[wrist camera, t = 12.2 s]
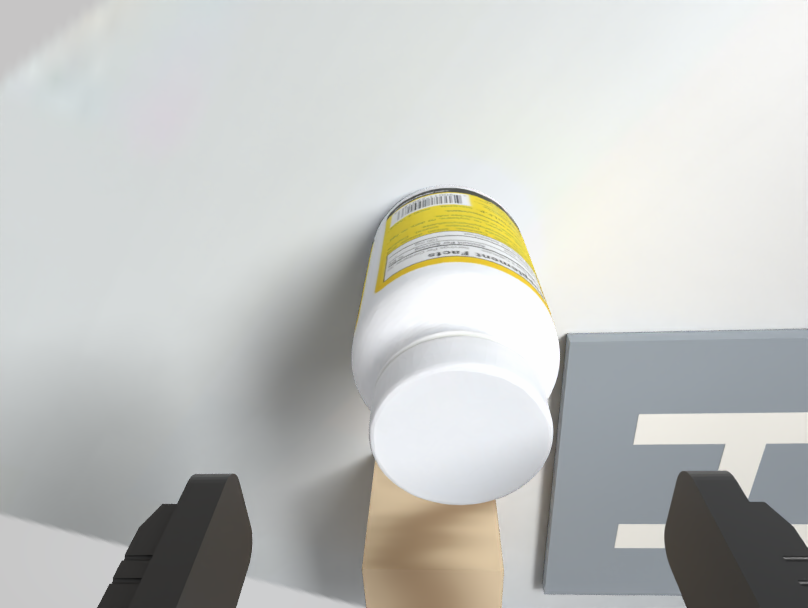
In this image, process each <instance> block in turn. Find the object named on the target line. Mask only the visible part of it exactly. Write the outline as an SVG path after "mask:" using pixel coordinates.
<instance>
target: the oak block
mask: <svg viewBox="0 0 808 608" xmlns="http://www.w3.org/2000/svg"><path fill="white" fill-rule="evenodd" d="M362 575H363V583H364V591H365V600H366V608H501V607H502V592H503V576H504V568H503V559H502V551H501V542H500V534H499V525H498V517H497V508H496V500H492V501H488V502H484V503H478V504H470V505H448V504H441V503H436V502H432V501H428V500H424V499H421V498H418V497H416V496H414V495H412V494H410V493H408V492H406V491H404V490H403V489H401V488H400V487H398V486H397V485H396V484H394V483H393V482H392V481H391V480H390V479H389V478H388V477H387V476H386V475H385V474H384V473H383V472H382V470H381V469H380V468H379V466H378V464H377V462H376V460H375V465H374V474H373V482H372V490H371V498H370V506H369V514H368V523H367V531H366V539H365V547H364V555H363V563H362Z"/></svg>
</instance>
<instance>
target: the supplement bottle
mask: <svg viewBox="0 0 808 608" xmlns="http://www.w3.org/2000/svg"><path fill="white" fill-rule="evenodd" d="M559 364H560V348H559V340H558V337H557V333H556V328H555V325H554V322H553V319H552V316H551V313H550V310H549V308H548V305H547V303H546V300H545V297H544V295H543V292H542V289H541V286H540V284H539V281H538V278H537V276H536V273H535V270H534V267H533V264H532V262H531V259H530V256H529V254H528V251H527V248H526V245H525V243H524V240H523V238H522V236H521V233H520V231H519V228H518V227H517V225H516V223H515V221H514V220H513V218H512V217H511V215H510V214H509V213H508V212H507V210H506V209H505V208H504V207H503V206H502V205H501V204H499V203H498V202H497V201H496V200H494V199H493V198H491V197H490V196H488V195H486V194H484V193H482V192H480V191H478V190H475V189H472V188H469V187H464V186H458V185H439V186H434V187H429V188H425V189H422V190H420V191H417V192H415V193H413V194H411V195H409V196H407V197H406V198H404V199H403V200H401V201H400V202H399V203H397V204H396V205H395V206H394V207H393V208H392V209H391V210H390V211H389V212H388V214H387V215H386V216H385V218H384V219H383V221H382V222H381V224H380V226H379V228H378V230H377V232H376V235H375V238H374V241H373V244H372V248H371V253H370V258H369V263H368V267H367V273H366V278H365V283H364V287H363V293H362V298H361V303H360V308H359V312H358V317H357V322H356V327H355V331H354V337H353V344H352V371H353V376H354V381H355V383H356V386H357V389H358V391H359V393H360V395H361V397H362V399H363V401H364V402H365V404H366V405H367V407H368V408H369V409H370V411H371V415H370V424H369V441H370V447H371V451H372V454H373V456H374V458H375V460H376V462H377V464H378V466H379V468H380V469H381V470H382V472H383V473H384V474H385V475H386V476H387V477H388V478H389V479H390V480H391V481H392V482H393V483H394V484H396V485H397V486H398V487H400V488H401V489H403V490H404V491H406V492H408V493H410V494H412V495H414V496H416V497H418V498H421V499H424V500H428V501H432V502H436V503H441V504H448V505H470V504H478V503H484V502H488V501H492V500H495V499H498V498H501V497H504V496H506V495H508V494H510V493H512V492H514V491H516V490H517V489H519V488H521V487H522V486H523V485H525V484H526V483H527V482H529V481H530V480H531V479H532V478H533V477H534V476H535V475H536V474H537V473H538V472H539V471H540V469H541V468H542V466H543V465H544V463H545V461H546V460H547V458H548V456H549V453H550V450H551V446H552V442H553V422H552V418H551V414H550V410H549V406H548V401H547V399H548V398H549V396H550V394H551V392H552V390H553V388H554V385H555V383H556V379H557V376H558V371H559Z"/></svg>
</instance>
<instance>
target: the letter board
mask: <svg viewBox="0 0 808 608" xmlns="http://www.w3.org/2000/svg"><path fill="white" fill-rule="evenodd" d="M682 471H728V472H730V473H731V474H732V475H733V476H734V478H735V479H736V480H737V482H738V484H739V485H740V487H741V489H742V490H743V492H744V494H745V495H746V497H747V498H748V500H749V502H765V503H767V504H768V505H769V506H770V507H771V508H773V509H774V510H775V511H776V512H777V513H778V514H780V515H781V516H782V517H783V518H784V519H785V520H787V521H788V522H789V523H790V524H791V525H792V526H794V528H795V529H796V531H797V532H798V534H799V535H800V537H801V538H802V540H803V541H804V543H805V544H806V546H807V547H808V329H782V330H731V331H680V332H630V333H579V334H567V340H566V350H565V360H564V370H563V380H562V391H561V401H560V411H559V421H558V431H557V441H556V451H555V462H554V472H553V482H552V492H551V502H550V512H549V523H548V533H547V543H546V553H545V563H544V573H543V589H544V594H574V595H681V592H680V590H679V587H678V585H677V582H676V580H675V578H674V575H673V573H672V570H671V568H670V565H669V562H668V559H667V555H666V550H665V543H664V530H665V525H666V521H667V517H668V513H669V509H670V505H671V501H672V497H673V493H674V489H675V484H676V480H677V477H678V475H679V473H680V472H682ZM681 596H682V595H681Z"/></svg>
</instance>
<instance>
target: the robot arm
mask: <svg viewBox="0 0 808 608" xmlns="http://www.w3.org/2000/svg"><path fill="white" fill-rule="evenodd" d="M664 543H665V550H666V555H667V559H668V562H669V565H670V568H671V570H672V573H673V575H674V578H675V580H676V582H677V585H678V587H679V590H680V592H681V595H682V597H683V600H684V602H685V604H686V607H687V608H808V547H807V546H806V544H805V543H804V541H803V540H802V538H801V537H800V535H799V534H798V532H797V531H796V529H795V528H794V526H792V525H791V524H790V523H789V522H788V521H787V520H785V519H784V518H783V517H782V516H781V515H780V514H778V513H777V512H776V511H775V510H774V509H773V508H771V507H770V506H769V505H768V504H767V503H765V502H749V500H748V498H747V497H746V495H745V494H744V492H743V490H742V489H741V487H740V485H739V484H738V482H737V480H736V479H735V478H734V476H733V475H732V474H731V473H730V472H728V471H682V472H680V473H679V475H678V477H677V480H676V484H675V489H674V493H673V497H672V501H671V505H670V509H669V513H668V517H667V521H666V525H665V530H664ZM251 552H252V530H251V525H250V521H249V517H248V513H247V510H246V506H245V502H244V498H243V494H242V490H241V486H240V483H239V479H238V477H237V476H236V475H235V474H195V475H193V476H192V477H191V478H190V479H189V481H188V482H187V484H186V487H185V489H184V491H183V493H182V495H181V497H180V499H179V501H178V503H177V504H162V505H161V506H160V507H159V508H158V509H157V510H156V511H155V512H154V513H153V514H152V515H151V516H150V517H149V518H148V519H147V520H146V521H145V522H144V523H143V524H142V525H141V526H140V527H139V529H138V531H137V533H136V535H135V536H134V538H133V540H132V542H131V544H130V546H129V548H128V550H127V552H126V554H125V559H124V561H122V562H121V563H120V565H119V567H118V569H117V571H116V573H115V575H114V577H113V582H112V584H109V586H108V588H107V590H106V592H105V594H104V596H103V598H102V600H101V602H100V604H99V605H98V607H97V608H236V606H237V602H238V599H239V596H240V593H241V589H242V586H243V583H244V580H245V576H246V573H247V570H248V566H249V563H250V558H251Z"/></svg>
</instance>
